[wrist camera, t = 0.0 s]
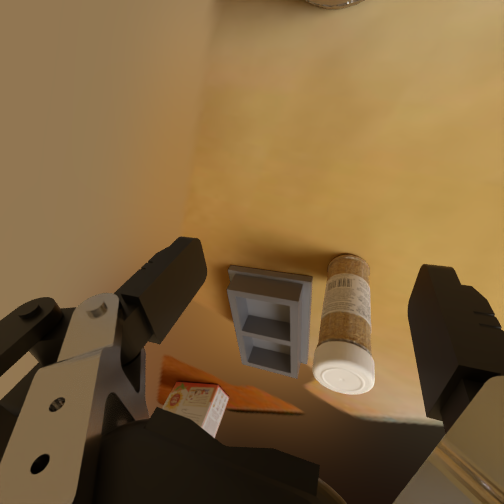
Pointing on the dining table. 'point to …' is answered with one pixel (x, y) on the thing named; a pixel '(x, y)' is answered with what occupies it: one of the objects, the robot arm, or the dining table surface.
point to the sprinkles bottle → (346, 329)
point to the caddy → (271, 318)
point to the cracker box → (198, 404)
